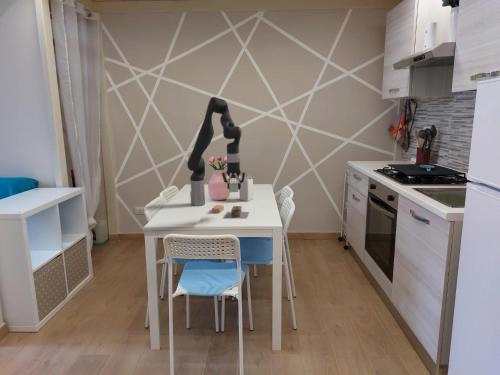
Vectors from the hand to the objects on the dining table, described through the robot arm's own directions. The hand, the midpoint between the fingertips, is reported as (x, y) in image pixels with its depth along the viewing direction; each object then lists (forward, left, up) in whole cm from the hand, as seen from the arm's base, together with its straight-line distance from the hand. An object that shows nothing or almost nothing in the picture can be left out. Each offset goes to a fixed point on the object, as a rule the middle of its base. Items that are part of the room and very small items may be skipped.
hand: (234, 189), depth 216 cm
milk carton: (+2, +45, -18) cm, 48 cm away
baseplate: (+1, +1, -18) cm, 18 cm away
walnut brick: (+1, +1, -16) cm, 16 cm away
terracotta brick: (-12, +9, -18) cm, 23 cm away
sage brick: (0, 0, -1) cm, 1 cm away
